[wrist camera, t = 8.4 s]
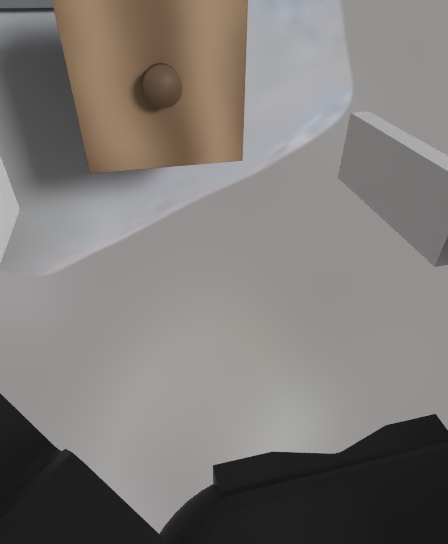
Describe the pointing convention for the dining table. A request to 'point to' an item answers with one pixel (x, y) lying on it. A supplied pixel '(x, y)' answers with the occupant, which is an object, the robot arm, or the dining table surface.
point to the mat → (26, 4)
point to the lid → (156, 80)
